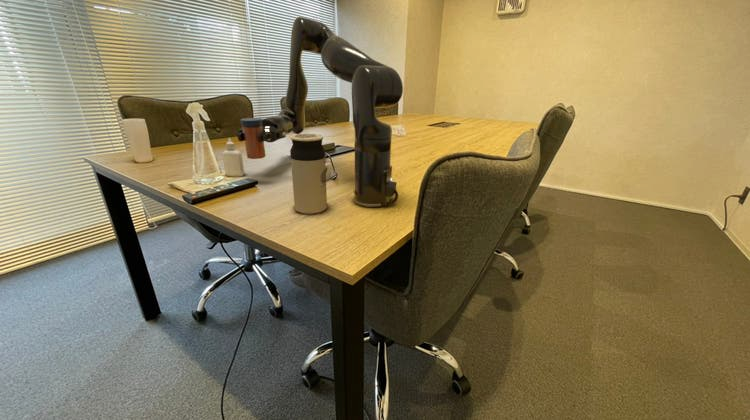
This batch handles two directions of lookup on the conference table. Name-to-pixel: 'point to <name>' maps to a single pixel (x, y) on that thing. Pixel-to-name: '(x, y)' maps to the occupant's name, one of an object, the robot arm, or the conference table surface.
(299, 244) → the conference table surface
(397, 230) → the conference table surface
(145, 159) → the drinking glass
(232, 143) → the eye dropper bottle
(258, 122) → the lid
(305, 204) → the travel mug
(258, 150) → the jar
